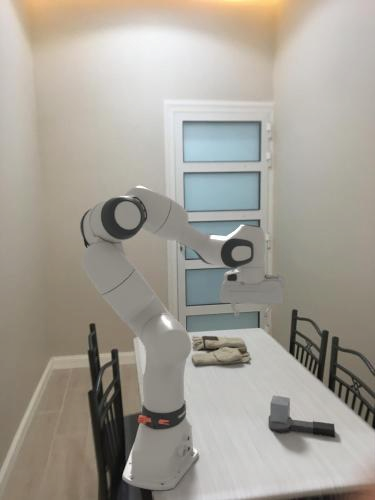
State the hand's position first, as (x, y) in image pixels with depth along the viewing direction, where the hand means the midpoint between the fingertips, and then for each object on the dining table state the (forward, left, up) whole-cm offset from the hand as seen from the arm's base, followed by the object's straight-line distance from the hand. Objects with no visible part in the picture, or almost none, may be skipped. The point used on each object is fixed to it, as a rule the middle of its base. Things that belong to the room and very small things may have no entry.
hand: (251, 316), depth 131 cm
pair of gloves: (+45, +20, -32) cm, 59 cm away
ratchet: (-10, -16, -31) cm, 36 cm away
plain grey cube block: (-10, -10, -29) cm, 32 cm away
